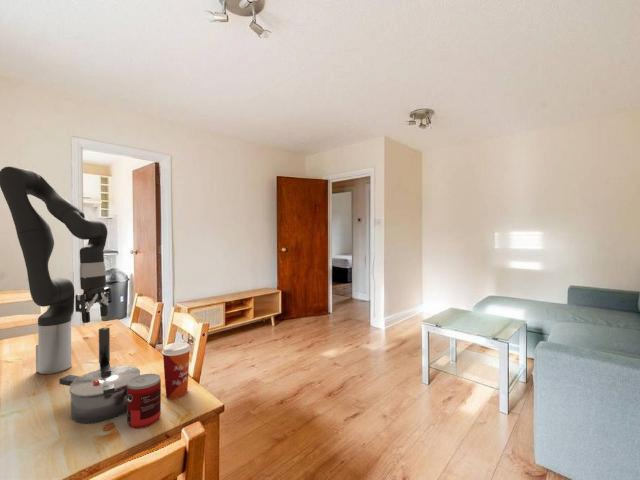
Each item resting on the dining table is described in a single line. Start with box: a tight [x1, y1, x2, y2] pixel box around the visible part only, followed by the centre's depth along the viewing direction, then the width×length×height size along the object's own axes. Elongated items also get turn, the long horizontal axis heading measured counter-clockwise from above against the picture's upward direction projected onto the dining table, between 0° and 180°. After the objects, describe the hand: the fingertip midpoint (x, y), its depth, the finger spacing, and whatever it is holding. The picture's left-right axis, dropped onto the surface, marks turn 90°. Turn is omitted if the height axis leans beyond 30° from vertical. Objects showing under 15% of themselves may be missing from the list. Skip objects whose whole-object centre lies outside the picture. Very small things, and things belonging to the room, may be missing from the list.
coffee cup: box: [161, 341, 192, 399], centre depth 96 cm, size 8×8×15 cm
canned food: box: [126, 373, 162, 429], centre depth 82 cm, size 8×8×11 cm
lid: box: [68, 327, 141, 397], centre depth 89 cm, size 23×17×13 cm
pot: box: [58, 374, 127, 425], centre depth 89 cm, size 28×16×7 cm, turn 76°
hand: (95, 319), depth 112 cm, fingers open, 8 cm apart
